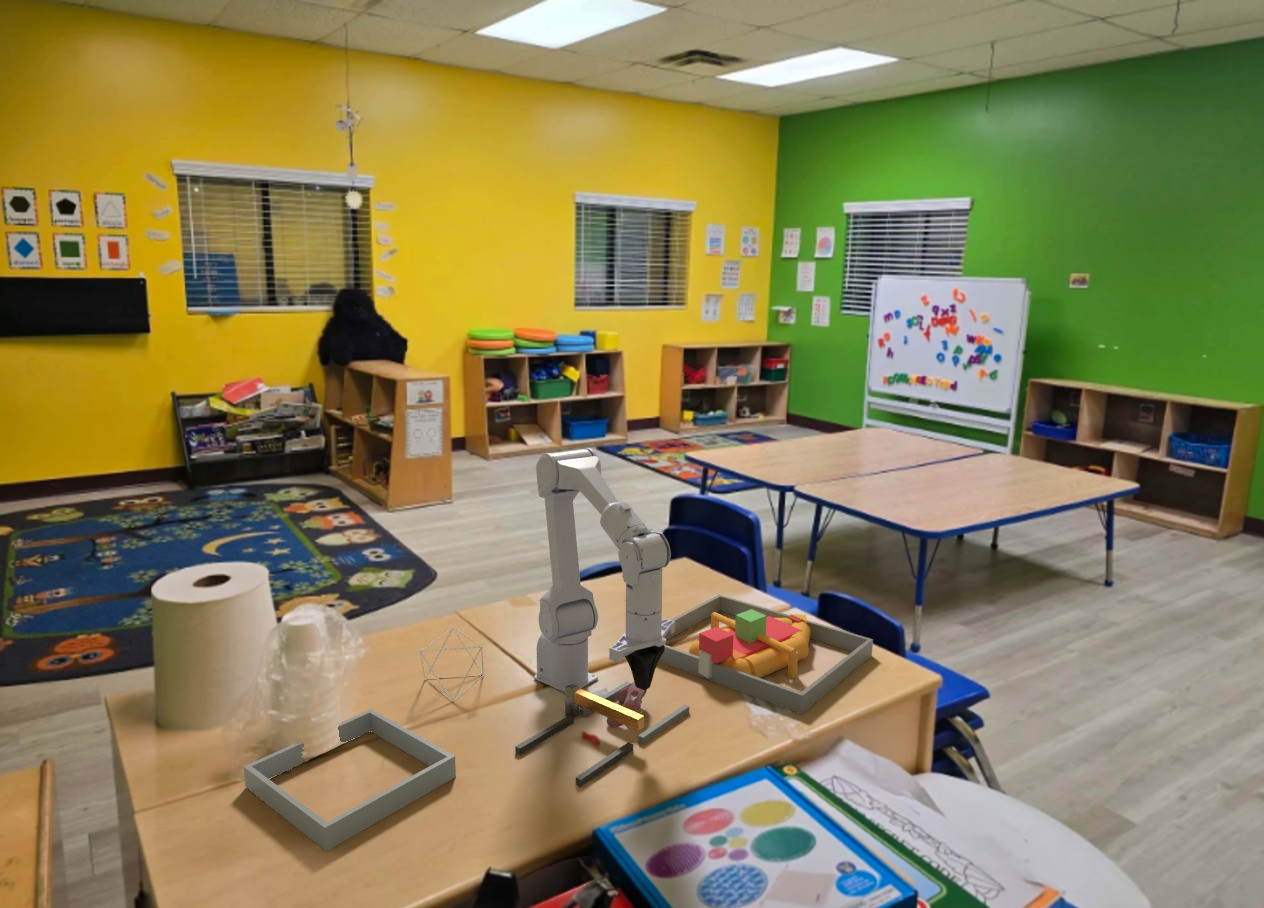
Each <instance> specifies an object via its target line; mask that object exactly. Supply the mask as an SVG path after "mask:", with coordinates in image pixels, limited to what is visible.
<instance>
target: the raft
mask: <svg viewBox="0 0 1264 908" xmlns="http://www.w3.org/2000/svg"><path fill="white" fill-rule="evenodd" d="M789 615H790V617H788V618H772V617H770V616H768V617H767V616H766V615H764V614H761V613H759V612H757V611H755V610H752V609H751V610H748V611H745V612H743V613H740V614H737V615H736V616H735V620H734V619H731V618H729V617H727V616H724V615H722V614H720V613H719V612H717V613H716V612H713V613H712V614H711V616H710V629H707V630H704V631H701V632H699V634H698V637H699V638H698V639H697V640H696V641H694V642H693V643H692V644H691V645H690V647H689V649H688V650H689V651H688V653H690V654H693V655H696V656H699V673H700V674H702V675H703V676H705V677H707V678H710V677H712V663H715V664H717V663H718V664H721V665H724V666H727V667H730V668H733V669H735V670H738V671H741V672H744V673H747V674H750V675H752V676H755V677H758V678H761V679H763V678H764V677H767V676H768V675H771V674H773V673H774V672H777V671H779V670H782V669H784V668H786V667H787V676H788V677H790V678H792V679H793V678H797V677H798V666H799V665H798V664H799V663H798V662H799V661H802V660H804V659H805V658H808V656H809V653H810V647H809V643H810V633H811V631H810V627H809V626H808V625H807V616H806V615H807V614H796V613H795V614H794V613H793V614H792V613H791V614H789ZM720 623H721V624H723V625H726V626H727V627H725V628H721V627H720Z"/></svg>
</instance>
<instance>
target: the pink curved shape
mask: <svg viewBox="0 0 1264 908" xmlns="http://www.w3.org/2000/svg"><path fill="white" fill-rule="evenodd" d="M647 691H648V689H647V690H642V689H640V688H637V687H636V686H635V682H634V681H632V683H631V685H629V686H628V687H626V688H624V689H622V690H621V691H620V692H619V693H618V695H617V698H616V700H617V701H618V702H619V703H622V705H621V706H622V707H624V708H627V709H629V710H631V711H634V712H636V713H638V714H641V715H642V713H643V708H641V706H642V703H643V700H642V699H643V698H644V697H645V696H646V693H647ZM606 725H608V726H609V728H618V727H622V726H624V725H623V724H621V723H619V722H616V721H614V720H612V719H610V718H607V717H606Z"/></svg>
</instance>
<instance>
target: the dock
mask: <svg viewBox="0 0 1264 908" xmlns="http://www.w3.org/2000/svg"><path fill="white" fill-rule="evenodd" d="M631 684H632V683H631V682H629V681H626V682H624V683H622V684H620V685H618V686H617V687H616V688H613V689H611V690H610V691H608V692H607V693H605V694H603V695H602V696H600V697H601V698H603V699H606V700H608V701H610V702H612V701H615V699H616V700H617V695H618V693H619V692H620V691H621V690H622V689H624V688H626V687H628V686H629V685H631ZM593 712H594V711H592V710H589V709H587V708H585V707H583V706H581V707H580V708H579V717H582V718H585V717H587V716H589V715H590V714H592V713H593ZM594 713H595V712H594ZM688 714H690V706H689V705H687V704H684V705H682V706H680V707H679V708H678V709H676V710H675V711H672V712H671V713H670V714H669V715H667V716H665V717H663V719H661V720H659V721H658V722H656V723H655V724H653V725H651V726H650V727H648V728H647V729H645V731H642V733H639V735H637V743H639V744H641V745H644V744H645V743H647V742H649V741H650V740H651V739H653V738H654V737H656V736H657V735H659V734H661V733H662V732H663V731H665V730H666V729H667V728H669V727H671V726H672V725H673V724H675V723H676V722H678V721H679V720H681V719H682V718H684V717H685V716H687V715H688ZM574 721H575V718H574V717H573V716H570V715H568V716H567V717H566V716H564V718H561V719H560V720H559V721H557V722H555V723H553V724H552V725H550V726H548V727H546V728H545V729H542V730H541V731H539V732H538V733H536V734H534V735H532V736H530V737H529V738H527V739H526V740H524V741H522V742H520V743H519V744H516V745H515V746H514V747H515V754H516V755H518V756H521V755H523V754H525V753H526V752H528V751H529V750H531V749H533V748H535V747H536V746H538V745H540V744H541V743H544V742H545V741H546V740H548V739H550V738H552V737H554V736H556V735H557V734H558V733H560V732H562V731H563V730H565V729H568V727H570V726H571V725H573V724H575V723H574ZM632 752H634V743H632V742H629V741H628V742H626V743H625V744H623V745H621V746H620V747H619V748H617V749H616V750H614V751H613V752H612V753H610V754H609V755H607V756H606V757H604V758H603V759H601V760H599V761H598V762H596V763H594V764H593V765H592V766H590V767H589V768H587V769H585V771H582V772H581V773H580V774H579V775H576V776H575V785H576V786H577V787H580V788H581V787H583V786H585V785H586V784H587V783H589V782H590V781H592V780H594V779H595V778H596V777H598V776H599V775H600V774H602V773H603V772H605V771H606V770H607V769H609V768H611V767H612V766H613V765H615V764H617V763H618V762H619V761H621V760H622V759H624V758H625V757H627V756H628V755H630V754H631V753H632Z"/></svg>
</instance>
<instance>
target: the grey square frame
mask: <svg viewBox="0 0 1264 908" xmlns="http://www.w3.org/2000/svg"><path fill="white" fill-rule="evenodd" d="M339 723H340V724H339ZM339 723H338V724H339V726H338V730H339V737H340V741H341V742H346V741H349V740H351V739H353V738H357V737H358V736H361V735H363V734H365V733H367V734H369V733H370V732H369V731H372V732H373V734H374V733H375V735H376V736H377V735H378V736H377V737H379V738H381V739H383V740H384V741H385V742H388V743H389V744H391V745H393V746H394V747H396V748H397V749H400V750H401V751H403V752H405V753H407V754H408V755H410V756H411V757H413V758H415V759H416V760H418V761H420V762H421V763H423V764H425V765H426V766H427V767H426V768H423V769H422V770H420V771H418V772H417V773H415V774H413V775H412V776H409V777H407V778H406V779H404V780H402V781H400V782H398V783H397V784H395V785H393V786H391V787H389V788H388V789H385V790H383V791H382V792H380V793H378V794H376V795H375V796H373V797H370V798H368V799H367V800H366V801H364V802H362V803H360V804H357V805H356V806H354V807H352V808H351V809H349V810H347V811H345V812H344V813H342V814H340V815H338V816H336V817H334V818H332V819H330V820H328V821H326V820H324V819H323V818H322V817H320V815H318V814H317V813H315V812H314V811H313V810H311V809H310V808H308V807H307V806H305V805H304V804H303V803H301V802H300V801H299V800H298V799H296V798H295V797H293V796H292V795H291V794H290V793H288V792H287V791H286V790H284V789H283V788H281V787H280V786H279V785H277V784H276V783H275V782H273V781H272V779H271V780H269V778H271V777H273V776H275V775H278V774H280V773H283V772H285V771H287V770H289V769H291V768H293V767H296V766H298V765H299V764H302V763H303V761H304V760H303V759H304V758H302V757H301V756H302V755H303V754H302V753H301V752H302V751H304V750H303V749H302V747H304V744H303V743H304V742H303V743H300V744H296V745H293V744H290V745H289V746H285V747H284V748H282V749H280V750H278V751H275V752H272V753H271V754H268V755H267V756H264V757H262V758H259V759H258V760H255V761H253V762H251V763H249V764H246V765H244V766H243V774H244V782H245V783H244V786H245V788H246V787H247V788H248V789H250V790H251V791H252V792H253V793H255V794H256V795H257V796H258V797H259V798H260V799H259V798H258V797H257V796H256V797H257V798H258V799H259V800H261V801H262V800H263V801H264V802H265V803H264V802H263V801H262V802H263V803H264V804H266V805H267V806H269V808H271V809H272V810H273V809H274V810H273V811H274V812H276V813H277V814H278V815H280V816H281V817H282V818H283V819H285V820H286V821H287V822H289V823H290V824H291V825H293V827H295V828H297V830H299V831H300V832H302V833H303V834H304V835H305V836H306V837H308V838H309V839H310V840H312V841H313V842H314V843H316V845H318V846H319V847H321V848H322V849H323V850H325V851H326V852H328V851H330V850H331V849H333V848H335V847H336V846H340V844H342V843H344V842H346V841H348V840H349V839H350V838H351V839H352V838H353V837H354V836H356V835H358V834H359V833H361V832H362V831H364V830H366V829H367V828H369V827H371V826H373V825H375V824H376V823H378V822H380V821H382V820H384V819H386V818H387V817H389V816H391V815H392V814H394V813H396V812H397V811H399V810H401V809H403V808H404V807H406V806H408V805H409V804H411V803H413V802H416V801H417V800H419V799H420V798H422V797H424V796H425V795H428V794H429V793H431V792H433V791H434V790H436V789H439V788H440V787H441V786H443V785H445V784H446V783H448V782H450V781H451V780H454V779H455V778H456V777H457V770H456V767H457V766H456V756H455V755H454V754H452V753H451V752H448V751H446V750H445V749H444V748H441V747H440V746H438V745H436V744H434V743H432V742H431V741H429V740H427V739H425V738H424V737H422V736H420V735H418V734H416V733H415V732H413V731H411V730H409V729H408V728H406V727H404V726H402V725H401V724H399V723H397V722H396V721H393V720H391V718H388V717H386V716H384V715H383V714H381V713H379V712H377V711H375V710H374V709H372V708H370V709H367V710H366V711H364V712H361V713H359V714H357V715H354V716H353V717H350V718H348V719H346V720H344V721H341V722H339ZM368 732H369V733H368ZM372 732H371V733H372ZM365 735H366V734H365ZM363 736H364V735H363ZM361 737H362V736H361ZM357 739H358V738H357ZM302 765H303V764H302ZM298 767H299V766H298ZM296 768H297V767H296ZM291 770H292V769H291ZM289 771H290V770H289ZM287 772H288V771H287ZM285 773H286V772H285ZM283 774H284V773H283ZM248 789H247V790H248ZM252 792H251V793H252ZM253 793H252V794H253Z"/></svg>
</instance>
